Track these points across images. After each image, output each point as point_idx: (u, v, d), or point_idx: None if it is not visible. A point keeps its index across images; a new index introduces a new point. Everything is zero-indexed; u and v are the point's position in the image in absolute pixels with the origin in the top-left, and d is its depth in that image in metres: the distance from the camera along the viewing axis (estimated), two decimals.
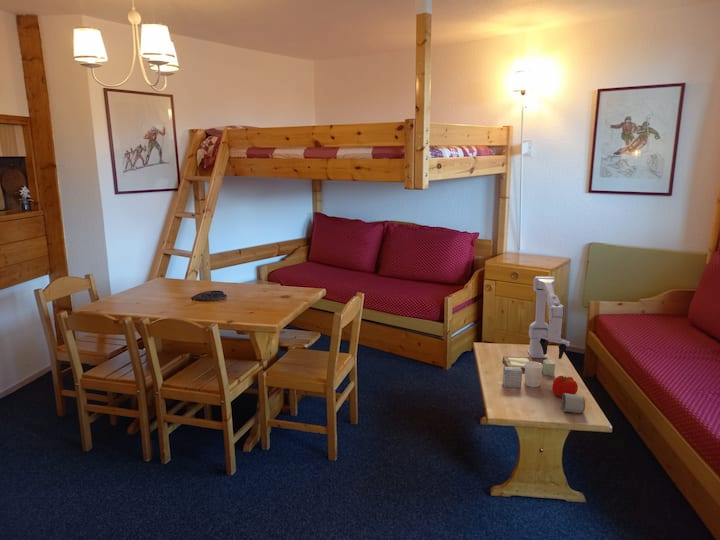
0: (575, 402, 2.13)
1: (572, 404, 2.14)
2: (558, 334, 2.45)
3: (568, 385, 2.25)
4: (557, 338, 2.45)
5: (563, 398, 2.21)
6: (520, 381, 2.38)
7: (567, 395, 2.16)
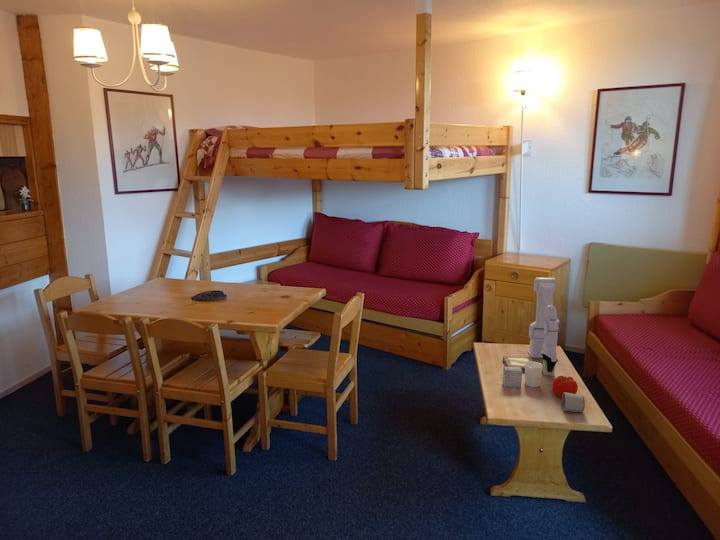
0: (575, 401, 2.14)
1: (572, 403, 2.14)
2: (549, 348, 2.49)
3: (568, 385, 2.25)
4: (548, 351, 2.50)
5: (563, 397, 2.21)
6: (520, 381, 2.38)
7: (567, 394, 2.16)
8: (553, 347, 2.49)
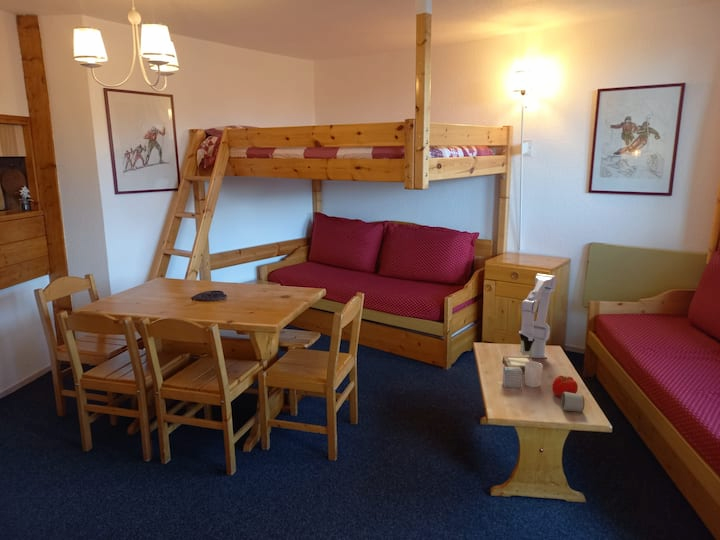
0: (574, 401, 2.15)
1: (571, 403, 2.15)
2: (526, 327, 2.55)
3: (568, 385, 2.25)
4: (525, 331, 2.55)
5: (563, 397, 2.22)
6: (520, 381, 2.38)
7: (566, 394, 2.17)
8: (530, 327, 2.54)
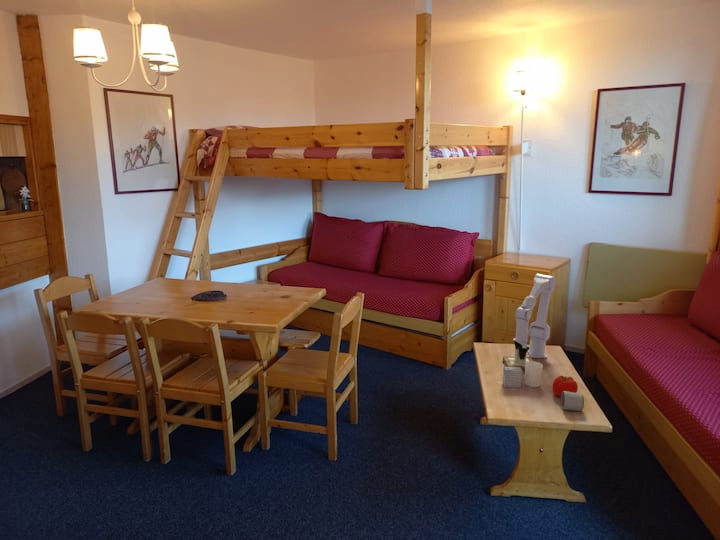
0: (574, 400, 2.15)
1: (571, 402, 2.15)
2: (520, 335, 2.57)
3: (568, 385, 2.25)
4: (519, 339, 2.58)
5: (562, 396, 2.23)
6: (520, 381, 2.38)
7: (566, 393, 2.18)
8: (524, 334, 2.57)
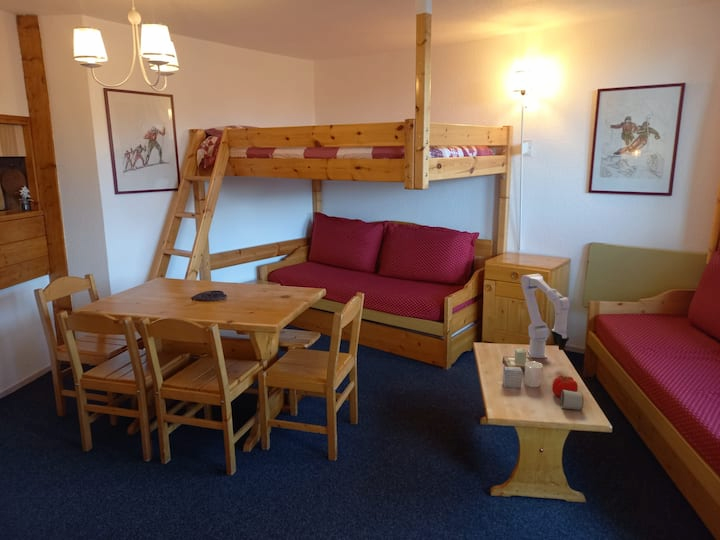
0: (574, 399, 2.16)
1: (571, 401, 2.16)
2: (559, 325, 2.56)
3: (568, 385, 2.25)
4: (558, 329, 2.56)
5: (562, 395, 2.24)
6: (520, 381, 2.38)
7: (566, 392, 2.18)
8: (563, 324, 2.55)
